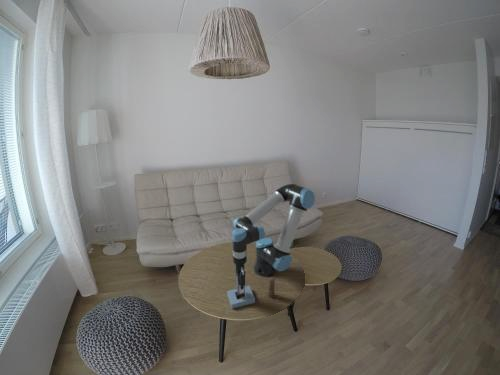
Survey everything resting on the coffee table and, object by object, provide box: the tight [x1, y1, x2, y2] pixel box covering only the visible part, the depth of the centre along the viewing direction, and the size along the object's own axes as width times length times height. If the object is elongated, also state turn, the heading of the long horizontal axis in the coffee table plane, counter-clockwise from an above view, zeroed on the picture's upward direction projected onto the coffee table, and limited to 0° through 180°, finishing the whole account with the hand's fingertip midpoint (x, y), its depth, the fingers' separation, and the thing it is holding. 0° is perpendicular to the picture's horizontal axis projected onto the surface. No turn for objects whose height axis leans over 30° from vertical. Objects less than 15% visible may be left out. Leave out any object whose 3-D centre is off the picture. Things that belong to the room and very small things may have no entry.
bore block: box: [226, 285, 256, 310], centre depth 141 cm, size 14×11×3 cm
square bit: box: [235, 272, 246, 296], centre depth 138 cm, size 4×4×12 cm
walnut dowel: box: [267, 276, 276, 299], centre depth 141 cm, size 4×4×12 cm
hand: (240, 289), depth 139 cm, fingers closed on square bit, 4 cm apart
